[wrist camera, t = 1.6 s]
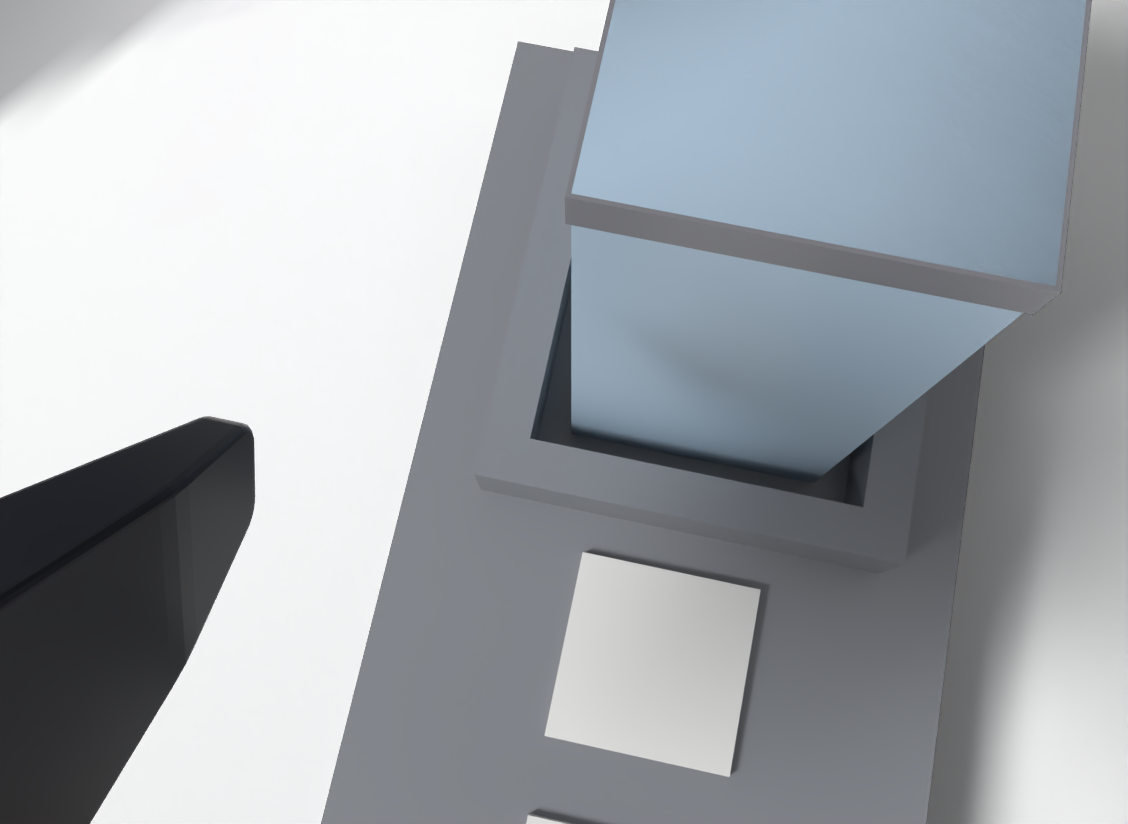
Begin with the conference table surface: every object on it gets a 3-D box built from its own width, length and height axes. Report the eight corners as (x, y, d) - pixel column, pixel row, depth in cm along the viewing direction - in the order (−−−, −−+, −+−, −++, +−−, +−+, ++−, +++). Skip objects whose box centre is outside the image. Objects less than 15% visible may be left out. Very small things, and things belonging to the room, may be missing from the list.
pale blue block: (858, 208, 21) (1114, -208, 11) (815, 486, 19) (1061, 292, 10) (626, 164, 21) (674, -280, 11) (568, 435, 20) (565, 197, 10)
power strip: (831, 1208, 19) (898, 1347, 15) (284, 1075, 19) (211, 1174, 15) (965, 188, 23) (1043, 91, 20) (523, 105, 24) (514, -5, 20)
